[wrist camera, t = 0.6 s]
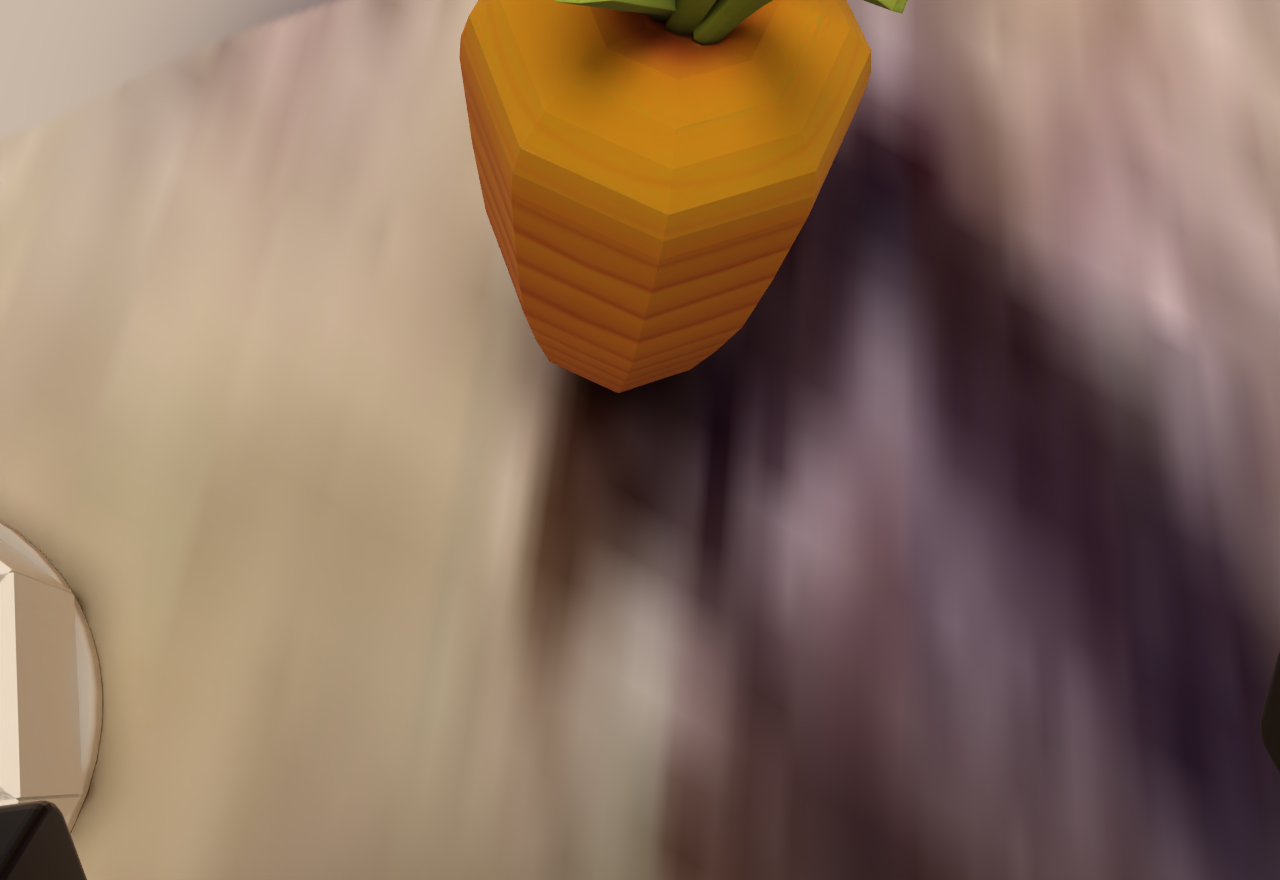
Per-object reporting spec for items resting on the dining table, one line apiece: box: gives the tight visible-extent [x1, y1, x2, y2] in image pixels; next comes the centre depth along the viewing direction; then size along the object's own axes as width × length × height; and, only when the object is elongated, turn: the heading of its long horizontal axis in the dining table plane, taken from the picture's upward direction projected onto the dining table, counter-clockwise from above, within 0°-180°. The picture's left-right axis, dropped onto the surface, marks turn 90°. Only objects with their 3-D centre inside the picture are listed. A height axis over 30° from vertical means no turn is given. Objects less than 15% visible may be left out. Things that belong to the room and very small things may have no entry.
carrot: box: [460, 0, 907, 393], centre depth 16 cm, size 5×5×15 cm
